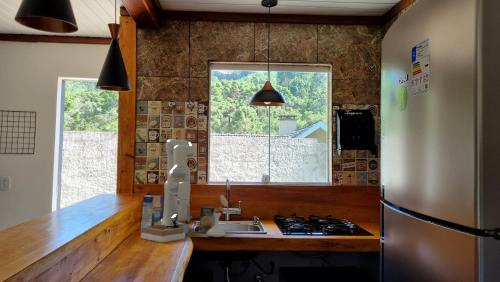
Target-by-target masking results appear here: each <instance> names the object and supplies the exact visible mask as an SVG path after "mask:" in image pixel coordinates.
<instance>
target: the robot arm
mask: <svg viewBox="0 0 500 282" xmlns="http://www.w3.org/2000/svg"><path fill="white" fill-rule="evenodd" d="M165 153H166V156H167V167H166V169H167V170H166V172H167V173H166V174H167V175H166V176H167V178H166V181H165V182H164V185H163V186H164V187H163V188H164V189H163V190H164V198H163V213H162V218H161V225H165V226H174V227H173V228H174V229H175V228H178V223H180V222H184V223H185V224H189V225H190V223H191V221H192V219H193V216H192V214H190V213H191V207H190V201H191V200H190V199H191V198H190V196H191V194H190V193H191V183H190V182H191V169H190V167H189V165H188V163H187V159H194V157H195V155H196V150H195V146H194V145H193V144H192V142H191V141H190V140H183V139H175V138H173V139H167V140H166V142H165ZM177 179H178V180H177ZM179 179H180V180H179ZM176 195H177V196H176Z"/></svg>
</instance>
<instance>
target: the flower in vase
mask: <svg viewBox="0 0 500 282" xmlns="http://www.w3.org/2000/svg"><path fill="white" fill-rule="evenodd" d="M219 199H220V202H221V203H220V205H219V208H217V207H215V210H216V213H213V214H214V217H215V224H214V226H213V227H212V228H211V229H210V230H209V231H208V232H207V233H205V234H206V235H207V236H209V237H212V238H222V237H225V235H226V232H225V231H224V230H223V229H222V228H221V227H220V225H219V221H220V217H221V215H222V213H221V212H223V211H224V208H225V207H226V208H228V206H229V205H228V204H229V202H228V200H227V198H226V197H225V195H224V194H221V195H220V197H219ZM221 205H222V206H224V208H223V207H222V206H221ZM220 211H221V212H220Z"/></svg>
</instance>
